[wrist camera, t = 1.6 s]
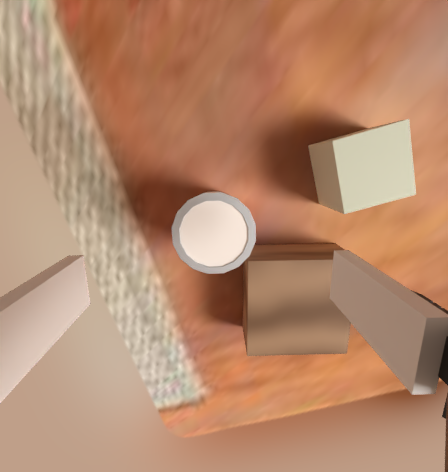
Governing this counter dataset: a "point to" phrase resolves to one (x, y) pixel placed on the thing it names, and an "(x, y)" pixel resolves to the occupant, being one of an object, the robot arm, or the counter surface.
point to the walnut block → (292, 301)
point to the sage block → (364, 167)
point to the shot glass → (213, 232)
